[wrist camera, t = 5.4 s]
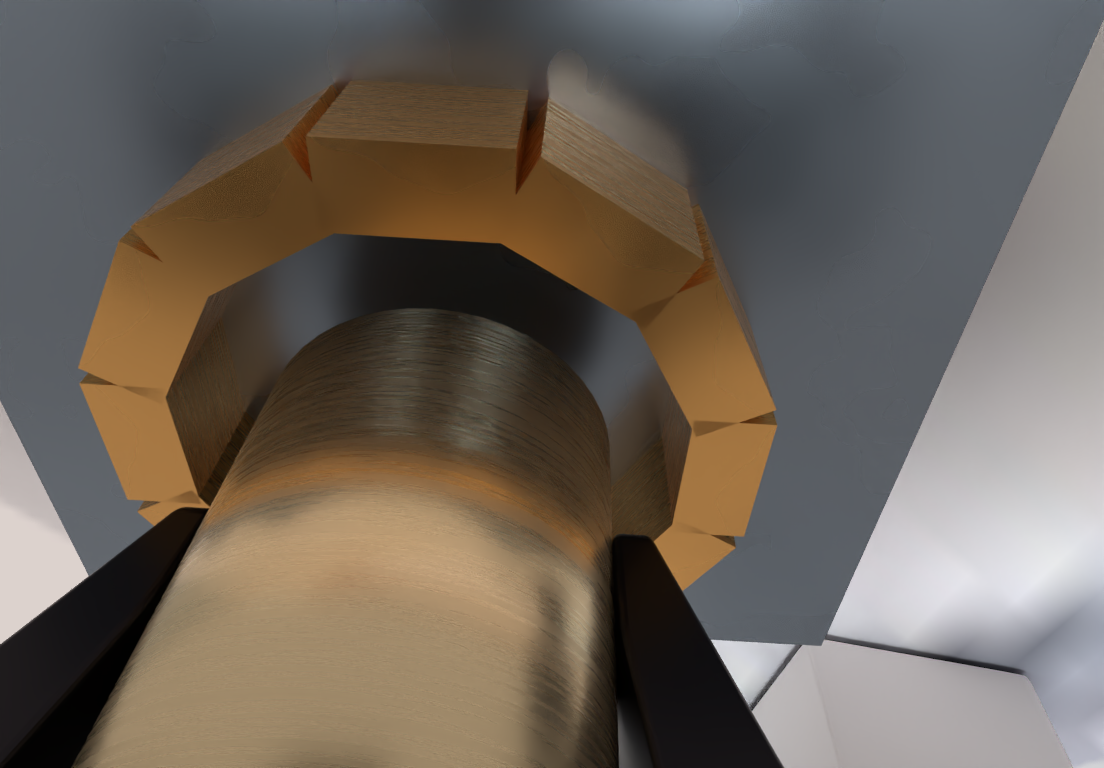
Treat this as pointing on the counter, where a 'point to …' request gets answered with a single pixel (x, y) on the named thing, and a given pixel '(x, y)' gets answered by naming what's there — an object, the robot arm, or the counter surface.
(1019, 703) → the milk carton
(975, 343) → the counter surface
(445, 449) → the beige cylinder
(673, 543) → the gearbox
